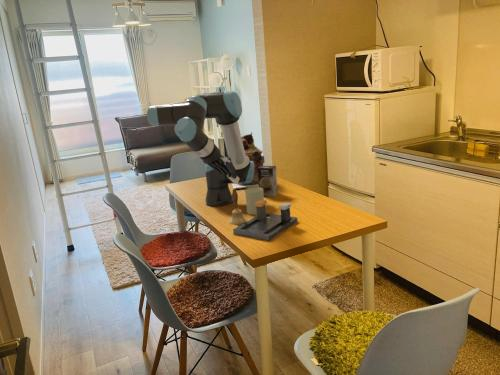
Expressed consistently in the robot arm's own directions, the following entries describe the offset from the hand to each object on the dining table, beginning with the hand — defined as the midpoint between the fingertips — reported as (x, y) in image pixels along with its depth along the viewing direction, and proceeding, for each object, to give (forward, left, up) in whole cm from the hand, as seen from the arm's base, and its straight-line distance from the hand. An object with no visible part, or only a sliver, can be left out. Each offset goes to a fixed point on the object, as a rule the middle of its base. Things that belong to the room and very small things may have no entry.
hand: (237, 181), depth 166 cm
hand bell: (-11, +12, -24) cm, 29 cm away
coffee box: (-21, +54, -24) cm, 63 cm away
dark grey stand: (+5, +11, -24) cm, 27 cm away
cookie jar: (-45, +70, -24) cm, 87 cm away
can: (-11, +27, -24) cm, 38 cm away
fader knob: (0, +16, -22) cm, 27 cm away
